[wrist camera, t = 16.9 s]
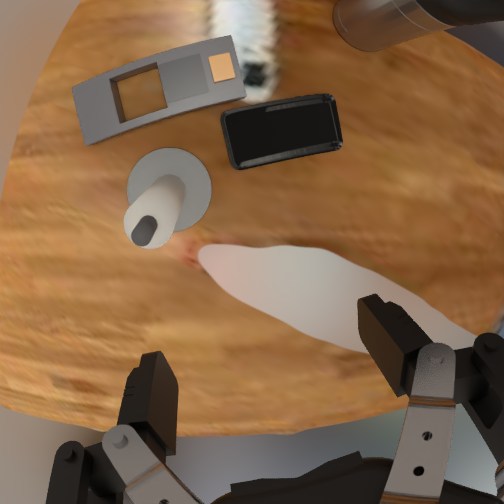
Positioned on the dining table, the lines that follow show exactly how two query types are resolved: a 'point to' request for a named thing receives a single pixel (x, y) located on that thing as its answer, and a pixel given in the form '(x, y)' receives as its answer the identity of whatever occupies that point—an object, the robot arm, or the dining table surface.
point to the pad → (181, 167)
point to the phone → (281, 130)
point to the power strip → (173, 82)
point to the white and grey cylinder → (155, 212)
